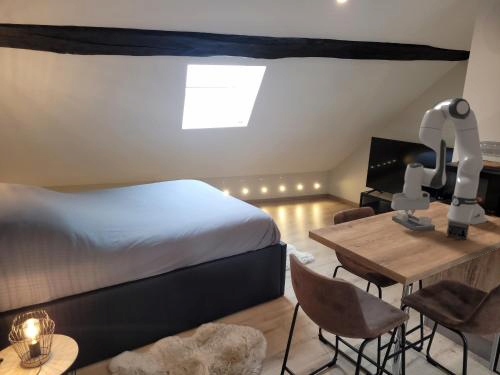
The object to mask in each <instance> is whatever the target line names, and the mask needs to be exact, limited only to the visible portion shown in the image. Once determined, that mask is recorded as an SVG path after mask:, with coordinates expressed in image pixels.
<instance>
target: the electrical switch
mask: <svg viewBox="0 0 500 375" xmlns="http://www.w3.org/2000/svg"><path fill="white" fill-rule="evenodd" d="M470 225H471V224H469V223H466V222H461V221H455V220H450V219H449V220H448V222H447V228H446V234H445V235H446V236H447V238H451V239H454V240H455V239H456V240H461V241H466V240H467V239H468V233H469V231H470V230H469V229H470Z"/></svg>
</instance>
